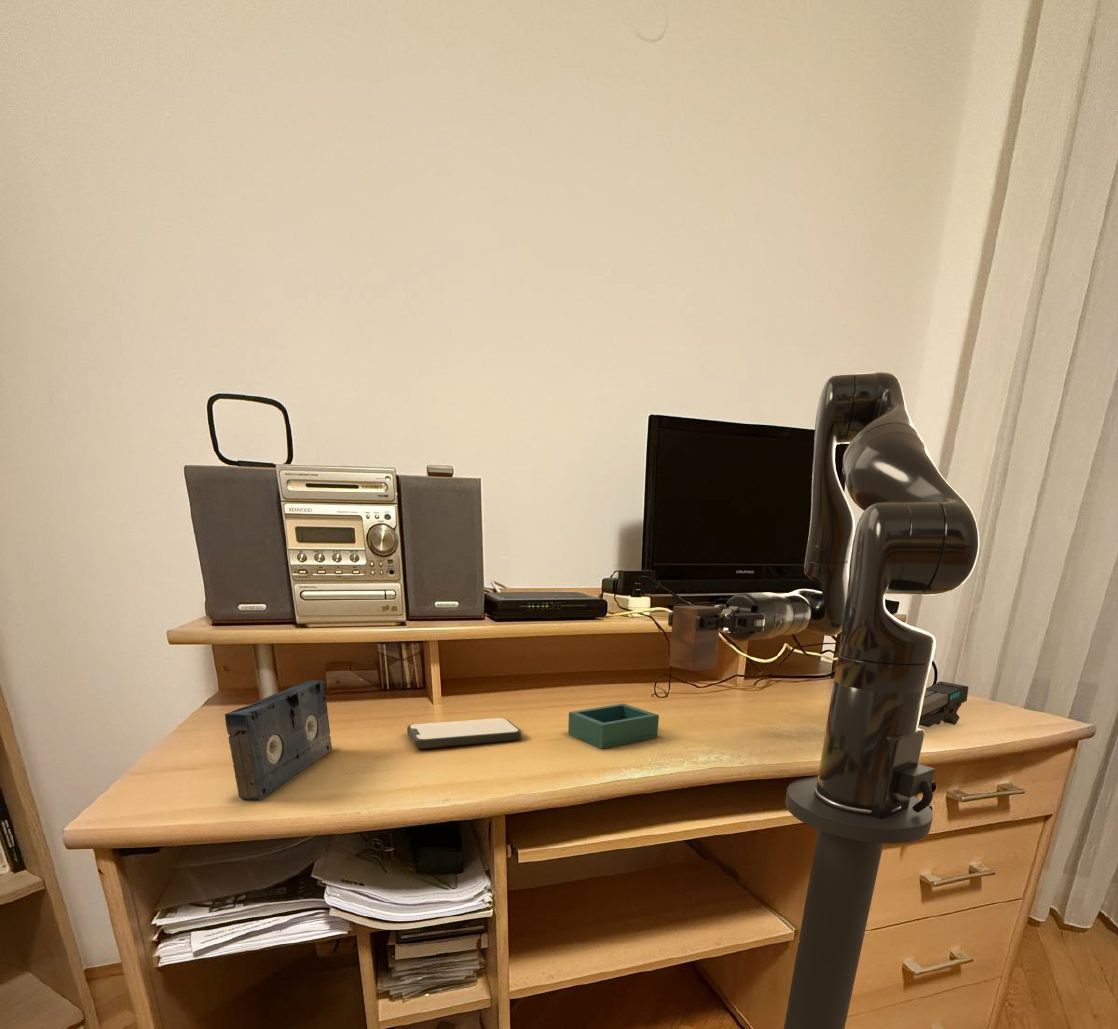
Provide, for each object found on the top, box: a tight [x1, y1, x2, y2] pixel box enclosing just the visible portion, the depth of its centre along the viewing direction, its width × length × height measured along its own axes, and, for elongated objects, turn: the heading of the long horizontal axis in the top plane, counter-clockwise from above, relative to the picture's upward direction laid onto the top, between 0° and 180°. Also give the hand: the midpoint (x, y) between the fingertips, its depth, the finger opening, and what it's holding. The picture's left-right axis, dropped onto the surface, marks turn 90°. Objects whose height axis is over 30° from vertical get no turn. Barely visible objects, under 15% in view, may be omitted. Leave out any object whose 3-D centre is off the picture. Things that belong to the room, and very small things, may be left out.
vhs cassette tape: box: [224, 679, 333, 801], centre depth 73 cm, size 18×3×10 cm, turn 174°
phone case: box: [406, 717, 522, 749], centre depth 89 cm, size 9×2×16 cm
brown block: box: [668, 604, 721, 672], centre depth 89 cm, size 5×5×9 cm
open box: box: [567, 703, 660, 750], centre depth 91 cm, size 8×11×4 cm
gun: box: [918, 681, 970, 728], centre depth 97 cm, size 4×20×10 cm, turn 118°
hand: (683, 621), depth 87 cm, fingers closed on brown block, 5 cm apart
